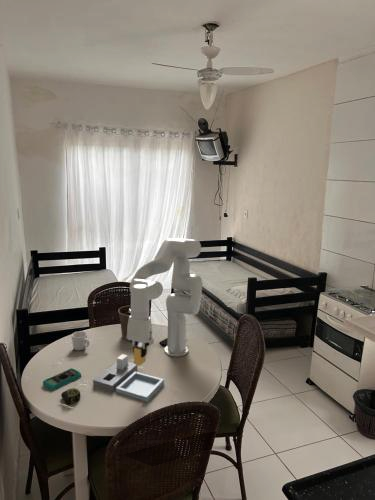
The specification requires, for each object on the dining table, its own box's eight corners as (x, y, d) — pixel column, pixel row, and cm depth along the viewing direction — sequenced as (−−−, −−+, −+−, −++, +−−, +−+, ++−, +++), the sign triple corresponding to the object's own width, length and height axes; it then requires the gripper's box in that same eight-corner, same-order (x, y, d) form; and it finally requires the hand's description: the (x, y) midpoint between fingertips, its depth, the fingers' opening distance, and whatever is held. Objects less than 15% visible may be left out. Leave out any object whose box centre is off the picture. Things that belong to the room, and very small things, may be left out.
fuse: (122, 369, 174) (122, 353, 172) (127, 370, 173) (127, 355, 171) (117, 374, 170) (116, 358, 168) (122, 375, 169) (122, 359, 167)
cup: (94, 348, 195) (94, 334, 193) (82, 354, 188) (82, 340, 186) (80, 343, 200) (79, 329, 199) (68, 349, 194) (68, 335, 192)
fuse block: (119, 366, 178) (119, 359, 177) (137, 370, 174) (137, 364, 173) (93, 387, 160) (93, 379, 159) (112, 393, 156) (112, 385, 155)
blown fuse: (139, 359, 159) (139, 342, 158) (145, 361, 158) (145, 343, 157) (134, 363, 155) (134, 346, 154) (140, 365, 154) (140, 347, 152)
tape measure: (61, 399, 151) (60, 390, 151) (77, 393, 155) (77, 385, 154) (65, 407, 146) (65, 399, 145) (82, 402, 150) (82, 394, 149)
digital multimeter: (82, 378, 168) (82, 372, 167) (51, 393, 156) (51, 386, 155) (73, 372, 172) (72, 366, 172) (42, 386, 160) (41, 380, 160)
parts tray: (135, 376, 169) (134, 371, 169) (163, 384, 163) (163, 379, 163) (116, 393, 156) (115, 388, 155) (146, 402, 150) (146, 397, 149)
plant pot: (147, 330, 219) (147, 304, 215) (146, 342, 203) (146, 315, 200) (120, 330, 218) (119, 304, 214) (116, 343, 202) (116, 315, 199)
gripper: (118, 313, 152) (118, 354, 156) (152, 320, 146) (152, 363, 149) (128, 308, 159) (128, 347, 163) (161, 314, 153) (161, 355, 156)
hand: (140, 354), depth 156 cm, fingers closed on blown fuse, 3 cm apart
